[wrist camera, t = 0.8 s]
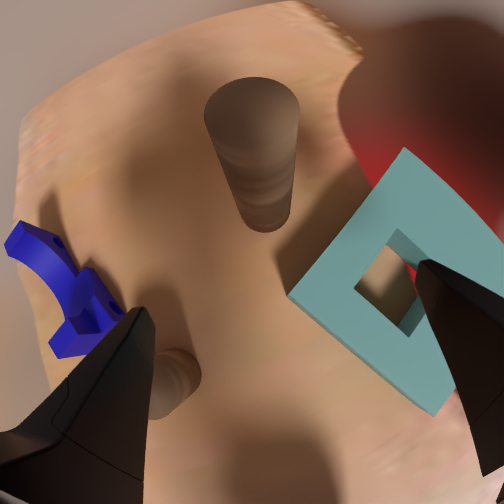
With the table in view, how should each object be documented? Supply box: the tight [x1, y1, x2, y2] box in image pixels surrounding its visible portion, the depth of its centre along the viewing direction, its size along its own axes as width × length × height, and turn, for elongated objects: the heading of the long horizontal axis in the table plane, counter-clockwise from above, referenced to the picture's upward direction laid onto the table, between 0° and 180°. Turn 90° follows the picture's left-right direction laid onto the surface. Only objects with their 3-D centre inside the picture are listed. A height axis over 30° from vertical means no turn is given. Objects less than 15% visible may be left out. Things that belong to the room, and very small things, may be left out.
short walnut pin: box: [148, 349, 201, 420], centre depth 18 cm, size 4×4×6 cm
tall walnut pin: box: [204, 77, 300, 233], centre depth 17 cm, size 4×4×12 cm
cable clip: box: [4, 220, 125, 359], centre depth 21 cm, size 12×4×6 cm, turn 44°
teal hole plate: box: [287, 147, 504, 417], centre depth 19 cm, size 15×15×4 cm
